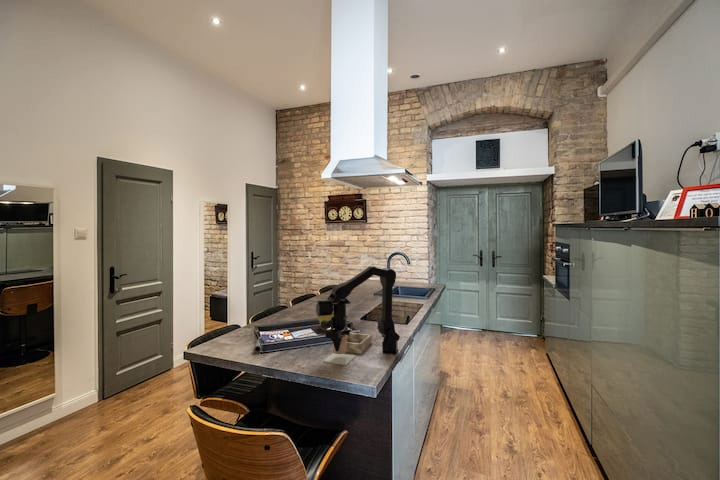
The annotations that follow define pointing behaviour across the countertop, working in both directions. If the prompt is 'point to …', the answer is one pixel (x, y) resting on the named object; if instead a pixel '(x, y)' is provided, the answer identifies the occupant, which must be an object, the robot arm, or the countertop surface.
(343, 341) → the terracotta pot
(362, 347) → the cold frame
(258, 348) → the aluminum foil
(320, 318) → the plant pot
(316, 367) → the countertop surface
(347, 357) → the sage tile
